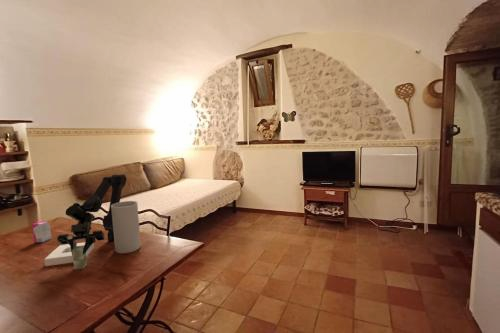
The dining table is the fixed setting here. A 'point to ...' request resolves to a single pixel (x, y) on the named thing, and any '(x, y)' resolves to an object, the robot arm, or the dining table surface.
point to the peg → (79, 257)
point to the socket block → (63, 255)
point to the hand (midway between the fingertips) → (78, 254)
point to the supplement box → (41, 231)
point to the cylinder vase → (126, 226)
